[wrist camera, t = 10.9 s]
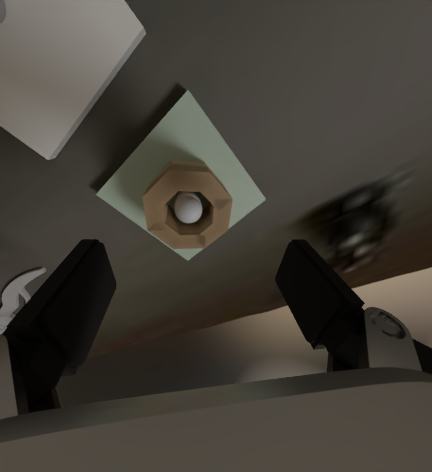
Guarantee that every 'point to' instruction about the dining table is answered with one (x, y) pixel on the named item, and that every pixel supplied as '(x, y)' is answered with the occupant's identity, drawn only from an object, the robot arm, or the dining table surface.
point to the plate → (189, 149)
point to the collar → (163, 215)
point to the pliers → (15, 296)
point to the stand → (59, 64)
